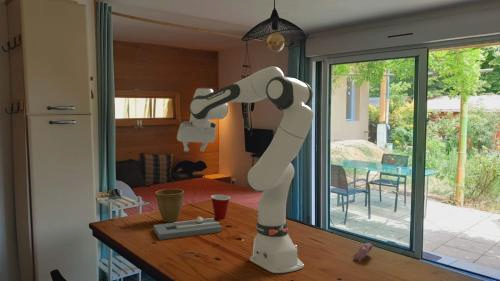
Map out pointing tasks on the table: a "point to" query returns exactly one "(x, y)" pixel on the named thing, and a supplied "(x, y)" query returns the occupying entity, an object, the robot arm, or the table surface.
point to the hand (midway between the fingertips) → (194, 151)
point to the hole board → (186, 228)
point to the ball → (199, 220)
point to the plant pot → (170, 203)
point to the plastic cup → (220, 205)
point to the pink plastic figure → (363, 251)
